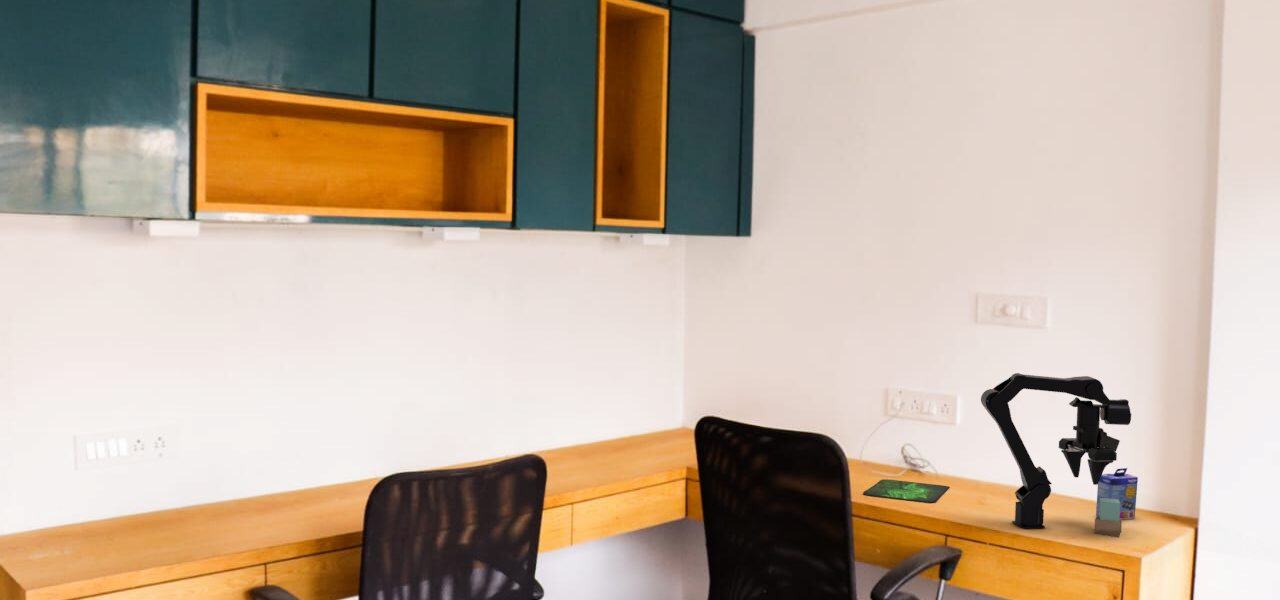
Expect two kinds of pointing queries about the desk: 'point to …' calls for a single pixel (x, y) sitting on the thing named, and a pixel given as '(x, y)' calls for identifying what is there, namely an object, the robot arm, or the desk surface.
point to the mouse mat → (907, 490)
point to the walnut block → (1107, 527)
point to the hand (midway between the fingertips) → (1085, 480)
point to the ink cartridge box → (1119, 492)
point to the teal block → (1109, 509)
